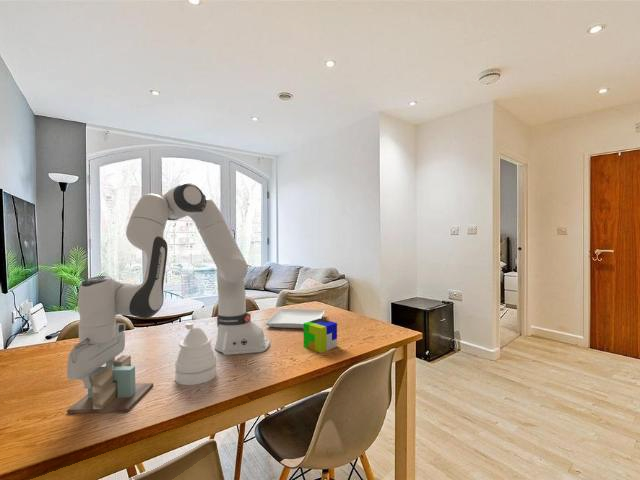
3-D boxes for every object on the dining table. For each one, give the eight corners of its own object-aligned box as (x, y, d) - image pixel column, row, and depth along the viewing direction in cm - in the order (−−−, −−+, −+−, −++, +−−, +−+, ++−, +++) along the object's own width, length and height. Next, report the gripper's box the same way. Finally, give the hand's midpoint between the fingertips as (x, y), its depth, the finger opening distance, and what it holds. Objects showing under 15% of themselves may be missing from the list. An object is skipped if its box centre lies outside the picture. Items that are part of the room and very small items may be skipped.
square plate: (278, 314, 184) (278, 308, 184) (325, 316, 180) (325, 309, 180) (264, 329, 157) (264, 321, 157) (318, 332, 153) (319, 324, 153)
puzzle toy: (337, 346, 134) (337, 323, 134) (320, 353, 127) (320, 328, 127) (319, 340, 141) (319, 318, 141) (303, 346, 134) (303, 323, 133)
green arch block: (135, 392, 94) (134, 366, 94) (130, 397, 92) (130, 370, 91) (94, 393, 94) (93, 366, 93) (88, 397, 91) (87, 370, 91)
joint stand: (153, 386, 100) (152, 355, 100) (128, 412, 86) (127, 375, 86) (101, 387, 99) (100, 355, 99) (67, 413, 85) (66, 376, 85)
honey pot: (175, 388, 99) (174, 331, 98) (175, 371, 111) (174, 320, 110) (218, 380, 104) (217, 326, 103) (214, 364, 116) (213, 316, 115)
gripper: (83, 346, 82) (85, 399, 82) (128, 322, 102) (129, 364, 103) (58, 346, 81) (60, 399, 82) (108, 322, 102) (109, 365, 102)
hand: (99, 380), depth 92 cm, fingers open, 7 cm apart
